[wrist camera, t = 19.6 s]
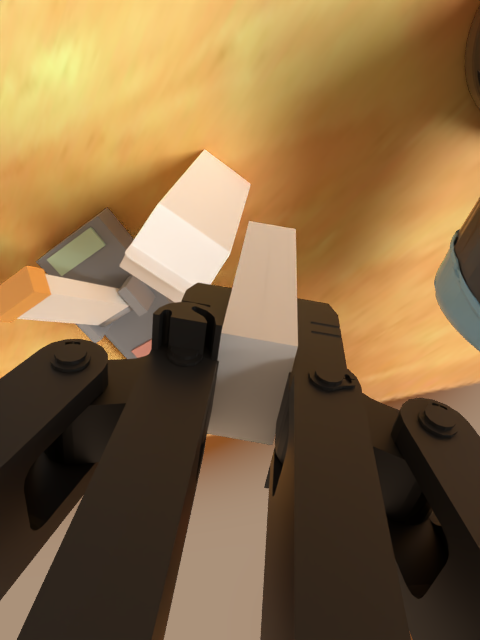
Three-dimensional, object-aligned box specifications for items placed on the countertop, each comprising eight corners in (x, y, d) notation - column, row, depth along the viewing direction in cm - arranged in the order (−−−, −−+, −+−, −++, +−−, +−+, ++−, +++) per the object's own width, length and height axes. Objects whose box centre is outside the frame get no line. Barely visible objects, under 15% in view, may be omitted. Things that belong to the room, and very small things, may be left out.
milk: (220, 226, 50) (178, 335, 32) (174, 194, 49) (101, 288, 30) (252, 182, 47) (226, 273, 29) (204, 146, 46) (144, 218, 27)
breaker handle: (143, 308, 51) (34, 291, 38) (108, 329, 53) (-8, 321, 40) (136, 288, 52) (26, 265, 39) (101, 310, 54) (-14, 295, 41)
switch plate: (203, 324, 57) (193, 354, 52) (144, 357, 61) (129, 388, 55) (107, 207, 50) (84, 227, 45) (47, 251, 54) (19, 275, 48)
